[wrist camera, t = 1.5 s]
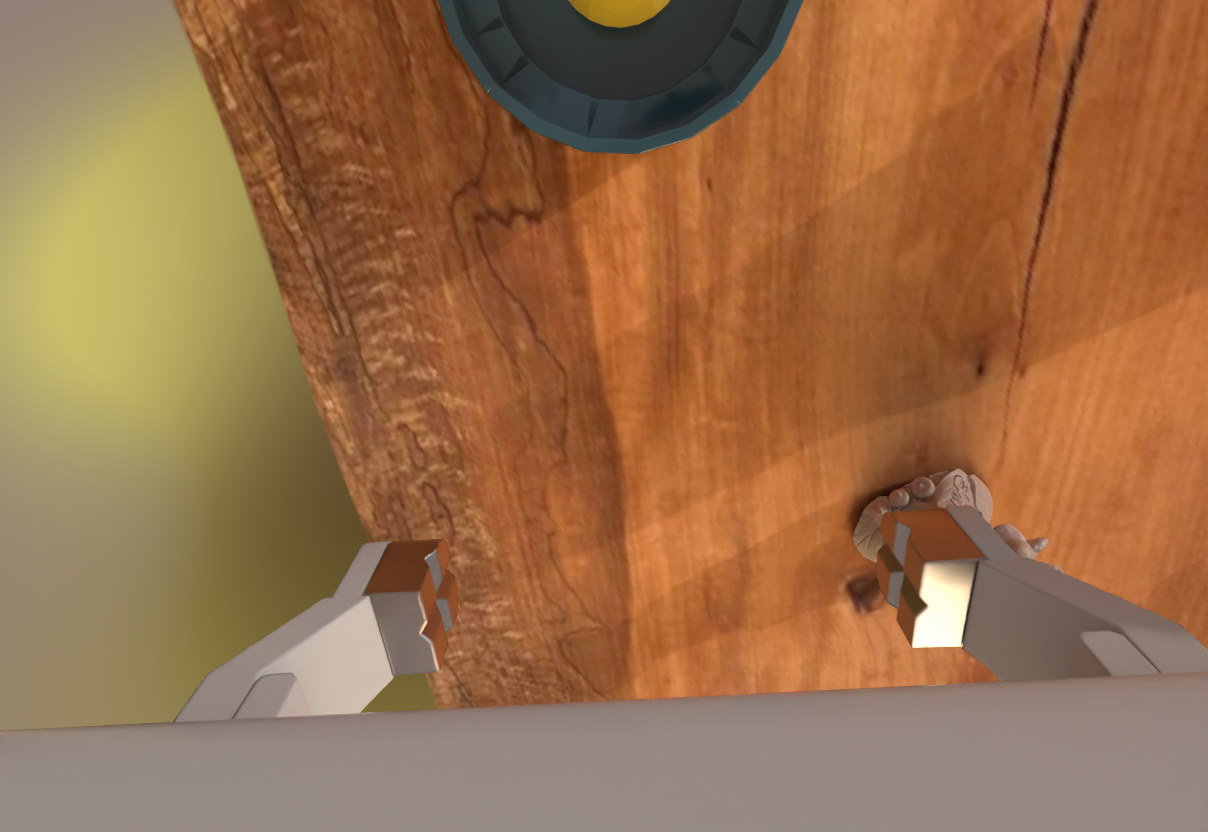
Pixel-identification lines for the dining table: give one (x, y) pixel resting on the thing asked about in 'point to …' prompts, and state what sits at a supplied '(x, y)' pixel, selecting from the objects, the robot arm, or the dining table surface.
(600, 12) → the lemon
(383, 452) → the dining table surface
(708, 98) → the bowl
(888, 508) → the figurine
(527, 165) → the dining table surface
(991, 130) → the dining table surface
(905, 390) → the dining table surface
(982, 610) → the robot arm
